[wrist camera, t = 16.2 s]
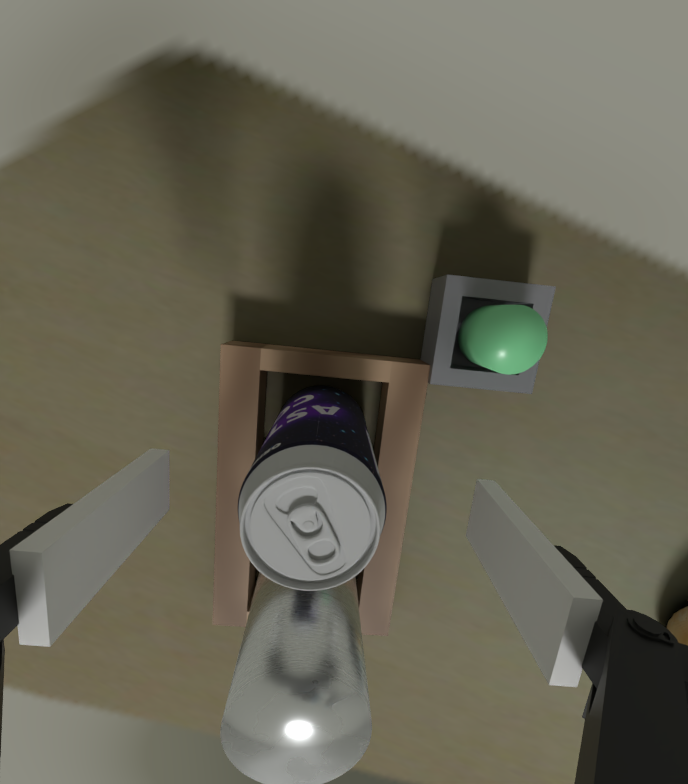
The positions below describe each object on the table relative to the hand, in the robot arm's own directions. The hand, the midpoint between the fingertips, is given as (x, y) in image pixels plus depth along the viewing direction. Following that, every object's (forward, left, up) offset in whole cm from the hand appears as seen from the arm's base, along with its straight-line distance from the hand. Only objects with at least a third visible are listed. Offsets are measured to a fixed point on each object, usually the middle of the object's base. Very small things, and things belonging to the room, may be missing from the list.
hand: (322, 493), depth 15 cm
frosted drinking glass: (0, +9, -9) cm, 13 cm away
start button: (-9, -7, -6) cm, 13 cm away
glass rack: (0, +4, -9) cm, 10 cm away
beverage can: (0, 0, -9) cm, 9 cm away
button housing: (-9, -7, -9) cm, 14 cm away
